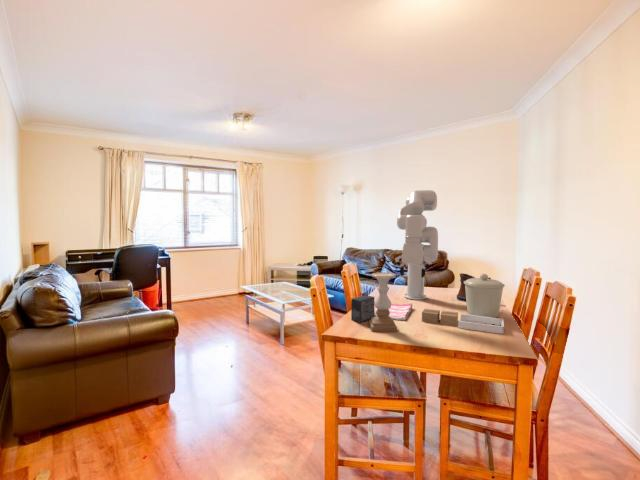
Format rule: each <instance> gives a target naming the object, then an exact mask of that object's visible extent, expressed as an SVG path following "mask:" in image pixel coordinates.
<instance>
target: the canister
mask: <svg viewBox="0 0 640 480" xmlns="http://www.w3.org/2000/svg"><path fill="white" fill-rule="evenodd" d="M488 278H489V275H488V274H486V273H481V274H480V275H479V277H475V278H471V279H468V280H466V281H464V284H465V291H466V301H465V302H466V303H465V304H466V310H467V312H468V313H467V314H468V315H476V316H484V317H492V318H498V316H499V312H500V308H501V302H502V295H503V291H504V288H505V286H506V285H505V283H503V282H502V281H499V280H496V279H492V278H491V279H488Z"/></svg>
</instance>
